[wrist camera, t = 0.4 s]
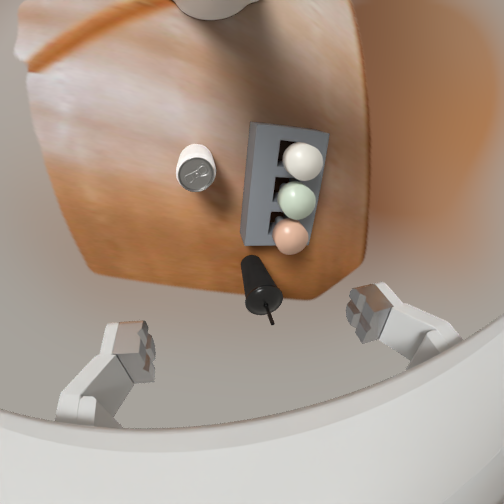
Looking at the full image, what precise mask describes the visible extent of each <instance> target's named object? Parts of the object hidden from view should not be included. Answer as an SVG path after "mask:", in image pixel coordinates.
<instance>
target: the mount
mask: <svg viewBox="0 0 504 504" xmlns="http://www.w3.org/2000/svg"><path fill="white" fill-rule="evenodd" d="M280 140H285V141H294V143H296V142H303V143H306V144H309V145H311V146H313V147H315V148H317V149H318V150H319V151H320V153H321V155H322V158H323V166H322V169H321V171H320V173H319V174H318V175H317V176H316V177H315V178H313V179H311V180H308V181H301V180H298V179H296V178H295V177H294V176H292V175H291V174H290V173H289V172H287V171H286V169H285V168H284V165H283V161H279V160H278V154H279V146H280ZM328 141H329V133H326V132H322V131H319V130H314V129H308V128H301V127H294V126H286V125H278V124H269V123H258V122H250V129H249V139H248V149H247V160H246V170H245V181H244V192H243V203H242V214H241V226H240V234H241V237H242V240H243V242H244V245H245V246H266V245H276V244H275V242H274V240H273V237H272V232H273V229H274V227H275V225H276V224H275V222H270V215H271V212H283V211H282V209H281V208H280V207H279V205H278V201H277V196H278V193H279V192H274V185H275V178H276V177H286V178H289V182H292V181H298V182H301V183H303V184H304V185H305V186H307V187H308V188H309V189H310V190H311V191H312V192H313V193H314V195H315V198H316V204H315V208H314V210H313V211H312V213H311V214H310V215H309V216H307V217H306V218H303V219H300V220H298V221H299V222H300V223H301V224H302V226H303V227H304V228H305V229H306V231H307V232H308V242H307V244H306V245H309V241H310V236H311V232H312V227H313V222H314V217H315V212H316V207H317V202H318V197H319V192H320V187H321V181H322V176H323V170H324V165H325V159H326V153H327V147H328ZM283 218H284V219H286V218H289V217H288V216H286V214H285V213H284V217H283Z"/></svg>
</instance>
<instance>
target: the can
mask: <svg viewBox="0 0 504 504" xmlns="http://www.w3.org/2000/svg"><path fill="white" fill-rule="evenodd" d="M215 176H216V167H215V163H214V160H213V157H212V154H211V152H210V151H209V149H208V148H207V147H205V146H203V145H201V144H192V145H189V146H187V147H186V148H185V149H184V150H183V151H182V152H181V154H180V157H179V160H178V164H177V168H176V177H177V180H178V182H179V183H180V185H181V186H182V187H183V188H185V189H186V190H188V191H191V192H200V191H203V190H205V189H207V188H208V187H209V186H210V185H211V184H212V182H213V181H214V179H215Z"/></svg>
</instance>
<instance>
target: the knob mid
mask: <svg viewBox="0 0 504 504" xmlns="http://www.w3.org/2000/svg"><path fill="white" fill-rule="evenodd" d="M279 190H280V191H279V193H278V196H277V201H278V205H279V207H280V208H281V209H282V211H283V212H284V213H285V214H286V216H288V217H289V218H291V219H294V220H300V219H303V218H306V217H307V216H309V215H310V214H311V213H312V211H313V210H314V208H315V204H316V198H315V195H314V193H313V192H312V191H311V190H310V189H309V188H308V187H307V186H305V185H304V184H303V183H301V182H298V181H292V182H289V183H282V184H281V185H280V186H279Z"/></svg>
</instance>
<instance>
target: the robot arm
mask: <svg viewBox="0 0 504 504" xmlns="http://www.w3.org/2000/svg"><path fill="white" fill-rule="evenodd" d="M173 1H174V2H175V3H176V4H177V6H178V7H179V8H180V9H181V10H182V11H183V12H184V13H186V14H187V15H189V16H191V17H194V18H198V19H203V20H218V19H223V18H227V17H230V16H232V15H234V14H236V13H238V12H239V11H241V10H242V9H243V8H244V7H245V6H246V5H248V4H250V3H253V2H256V1H258V0H173ZM349 297H350V298H351V300H350V302H349V303H348V304H347V307H346V317H347V319H348V322H349V323H350V325H351V326H353V327H355V328H356V332H355V333H356V334H357V336H358V337H359V339H360V341H361V342H362V344H363V343H367V342H370V341H374V340H377V339H379V340H380V341H381V342H383V343H384V344H386V345H387V346H389V347H390V348H392V349H393V350H395V351H396V352H398V353H400V354H401V355H403V356H404V357H406V358H407V359H409V360H410V363H409V365H408V366H407V368H406V371H404V372H402V373H399V374H397V375H395V376H393V377H390V378H388V379H385V380H383V381H381V382H378V383H376V384H373V385H371V386H368V387H365V388H363V389H360V390H357V391H354V392H352V393H349V394H346V395H343V396H340V397H337V398H334V399H330V400H327V401H324V402H320V403H317V404H313V405H310V406H306V407H302V408H298V409H295V410H291V411H286V412H282V413H277V414H273V415H268V416H263V417H258V418H253V419H247V420H241V421H234V422H228V423H220V424H212V425H202V426H192V427H177V428H147V429H146V428H135V429H134V428H123V427H122V426H121V425H120V424H119V423H118V422H117V421H116V420H115V419H114V418H113V417H114V416H115V414H116V413H117V411H118V409H119V407H120V406H121V405H122V403H123V401H124V400H125V398H126V397H127V395H128V394H129V392H130V390H131V389H132V387H133V386H134V383H147V382H154V379H155V367H154V365H153V363H152V362H153V361H154V360H155V353H156V352H155V345H154V341H153V338H152V336H151V335H150V334H149V333H148V326H147V323H146V321H129V322H115V323H108V324H107V326H106V329H105V334H104V337H103V341H102V345H101V350H100V354H99V355H96V356H95V357H94V358H93V359H92V360H91V361H90V362H89V363H88V364H87V365H86V366H85V368H84V369H83V370H82V371H81V372H80V373H79V374H78V375H77V376H76V377H75V378H74V379H73V380H72V381H71V382H70V383H69V385H68V386H67V387H66V388H65V389H64V390H63V391H62V392H61V393H60V398H59V403H58V407H57V413H56V418H55V421H50V420H45V419H40V418H35V417H30V416H26V415H21V414H18V413H14V412H10V411H7V410H3V409H0V504H504V314H502V315H500V316H499V317H498V318H496V319H495V320H493V321H492V322H490V323H489V324H488V325H486V326H485V327H483V328H482V329H480V330H479V331H477V332H476V333H474V334H472V335H471V336H469V337H468V338H466V339H465V340H463V339H462V338H461V336H460V335H459V334H458V333H457V332H456V330H455V329H454V328H453V327H452V326H451V325H450V323H449V322H447V321H445V320H443V319H440V318H438V317H436V316H434V315H432V314H429V313H427V312H425V311H423V310H420V309H418V308H416V307H413V306H411V305H409V304H407V303H406V304H403V303H402V302H401V300H400V299H399V298H398V297H397V296H396V295H395V293H394V292H393V291H392V290H391V289H390V288H389V287H388V286H387V284H386V283H384V282H382V281H381V282H377V283H374V284H370V285H365V286H361V287H357V288H353V289H352V290H351V291H350V295H349Z"/></svg>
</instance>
